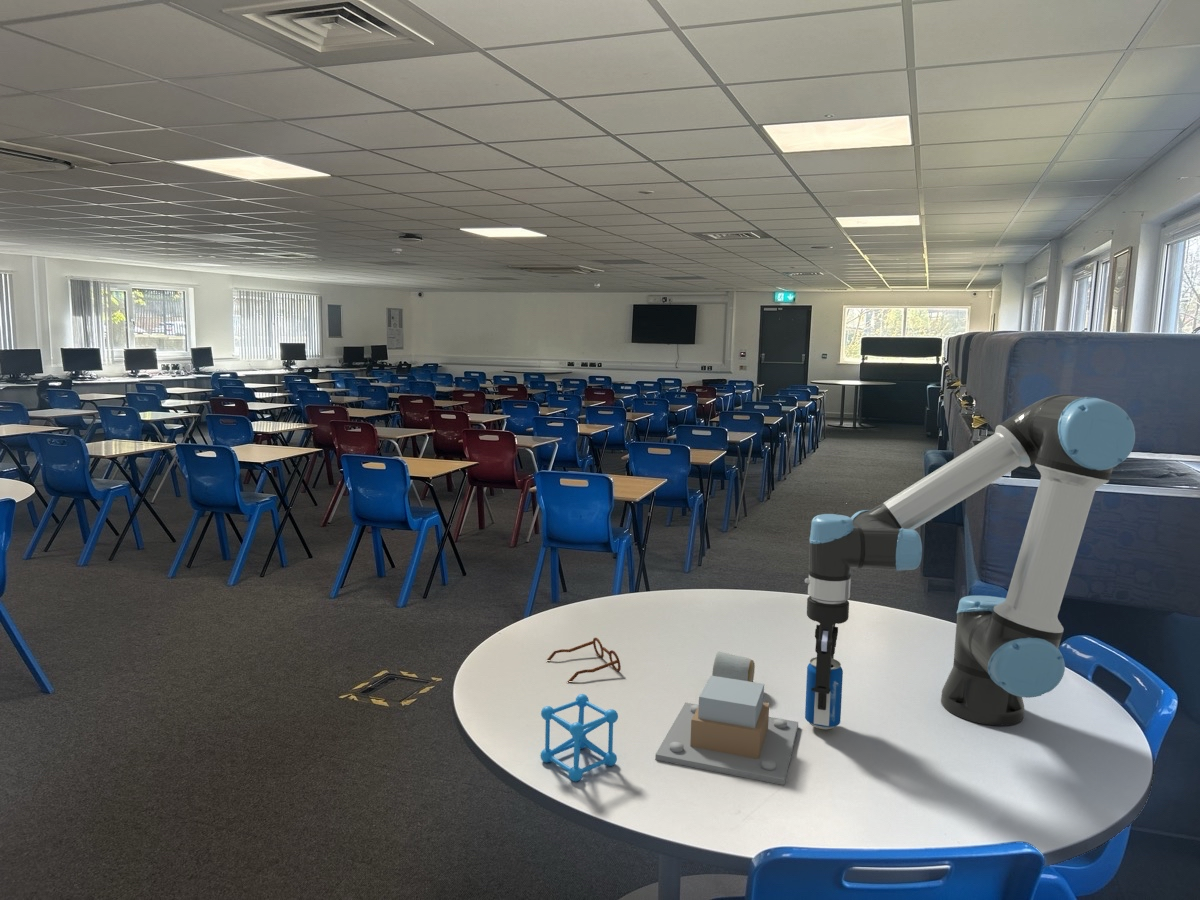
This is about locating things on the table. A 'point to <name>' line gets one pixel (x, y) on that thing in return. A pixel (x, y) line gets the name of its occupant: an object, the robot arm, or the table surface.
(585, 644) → the glasses
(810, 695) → the beverage can
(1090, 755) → the table surface
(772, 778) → the tower base
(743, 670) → the ceramic mug
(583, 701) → the molecular structure
